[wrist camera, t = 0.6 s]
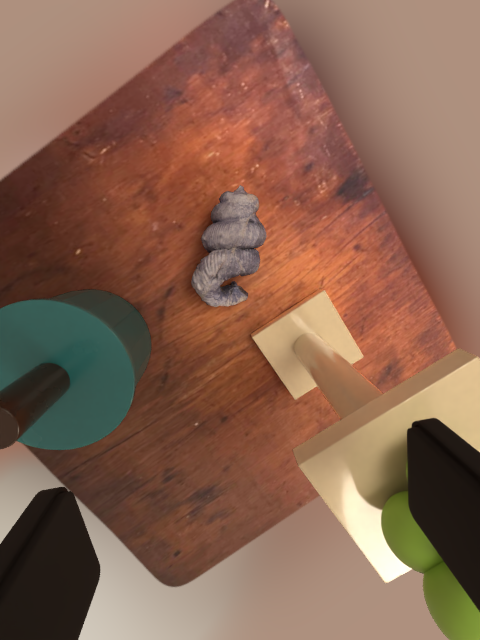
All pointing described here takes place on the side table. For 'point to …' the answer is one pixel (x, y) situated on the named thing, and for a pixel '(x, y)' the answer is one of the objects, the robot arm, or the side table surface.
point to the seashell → (229, 248)
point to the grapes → (429, 571)
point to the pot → (117, 322)
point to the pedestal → (364, 417)
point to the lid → (61, 375)
